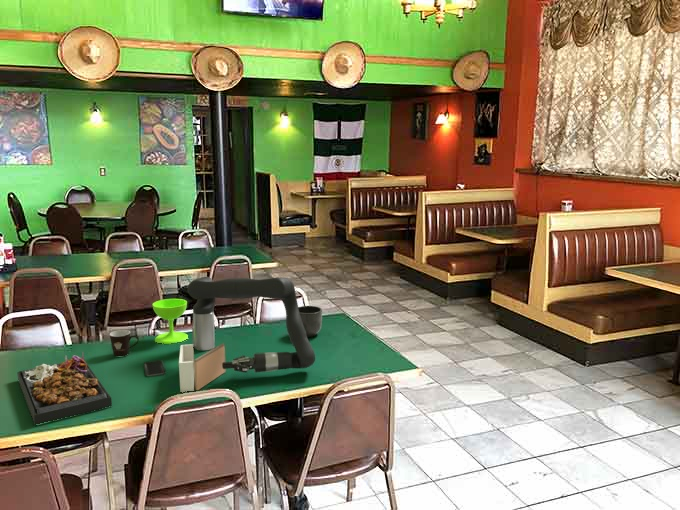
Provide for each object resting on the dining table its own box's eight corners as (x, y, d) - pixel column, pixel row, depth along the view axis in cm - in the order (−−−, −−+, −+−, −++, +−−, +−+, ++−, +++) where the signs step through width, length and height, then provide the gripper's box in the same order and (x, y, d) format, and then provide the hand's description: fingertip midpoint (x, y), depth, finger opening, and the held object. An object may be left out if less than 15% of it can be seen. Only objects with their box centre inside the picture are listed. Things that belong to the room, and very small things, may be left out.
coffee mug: (106, 356, 249) (105, 334, 247) (121, 349, 257) (119, 329, 255) (127, 360, 244) (125, 338, 243) (141, 353, 252) (139, 332, 250)
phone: (145, 375, 226) (143, 362, 240) (145, 378, 227) (143, 364, 240) (166, 372, 229) (162, 359, 243) (166, 375, 230) (162, 362, 243)
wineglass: (163, 332, 281) (161, 298, 277) (193, 334, 278) (192, 299, 275) (148, 343, 265) (146, 307, 262) (180, 345, 263) (178, 308, 259)
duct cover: (195, 389, 214) (194, 359, 212) (223, 371, 232) (222, 343, 230) (197, 390, 214) (196, 360, 212) (225, 371, 232) (224, 343, 229)
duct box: (180, 392, 212) (178, 363, 210) (182, 372, 232) (180, 345, 229) (194, 391, 214) (192, 362, 211) (194, 371, 233) (193, 344, 230)
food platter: (18, 382, 223) (15, 357, 221) (84, 368, 237) (82, 345, 235) (35, 427, 187) (32, 399, 185) (112, 408, 201) (110, 381, 199)
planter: (294, 330, 285) (293, 305, 283) (321, 329, 287) (321, 305, 284) (294, 339, 272) (294, 314, 269) (323, 338, 273) (323, 313, 271)
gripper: (264, 347, 232) (221, 350, 228) (267, 359, 219) (222, 363, 215) (264, 364, 233) (222, 368, 229) (268, 377, 221) (223, 381, 217)
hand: (222, 365), depth 222 cm, fingers closed
